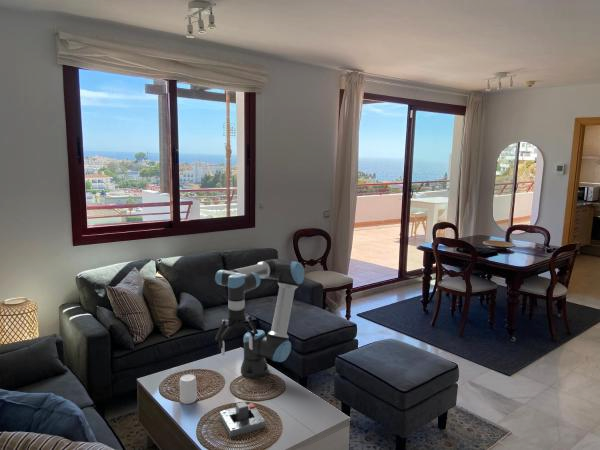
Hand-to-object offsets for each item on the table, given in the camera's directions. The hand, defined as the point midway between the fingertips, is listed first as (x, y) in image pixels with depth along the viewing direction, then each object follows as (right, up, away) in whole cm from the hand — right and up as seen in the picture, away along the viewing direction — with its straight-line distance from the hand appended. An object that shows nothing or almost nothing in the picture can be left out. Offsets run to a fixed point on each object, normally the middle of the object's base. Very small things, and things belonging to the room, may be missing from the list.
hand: (237, 351), depth 209 cm
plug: (+3, -30, -7) cm, 31 cm away
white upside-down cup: (-25, -27, +11) cm, 39 cm away
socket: (+3, -30, -7) cm, 31 cm away
